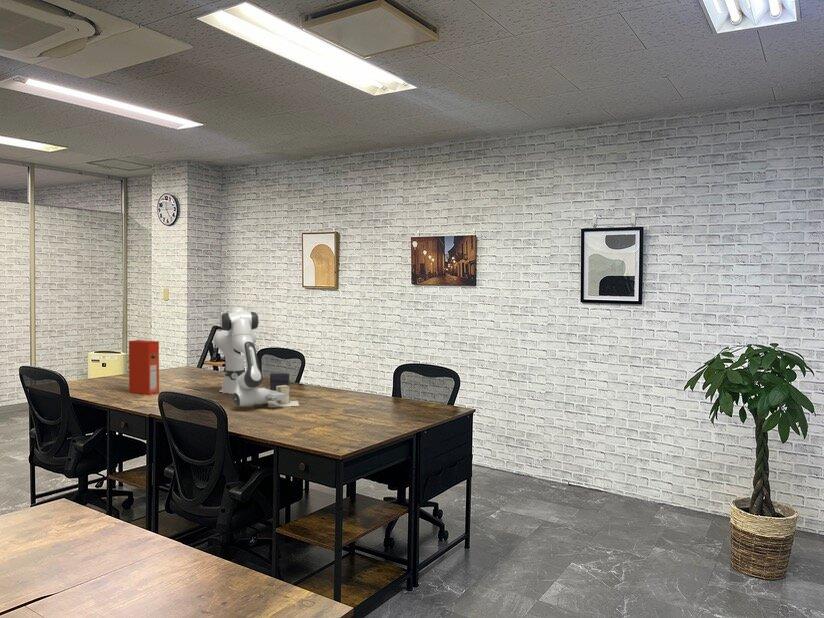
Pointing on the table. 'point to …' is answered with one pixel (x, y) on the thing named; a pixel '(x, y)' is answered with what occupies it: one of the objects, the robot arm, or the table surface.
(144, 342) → the file binder
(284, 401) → the block
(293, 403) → the mat
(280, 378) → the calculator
